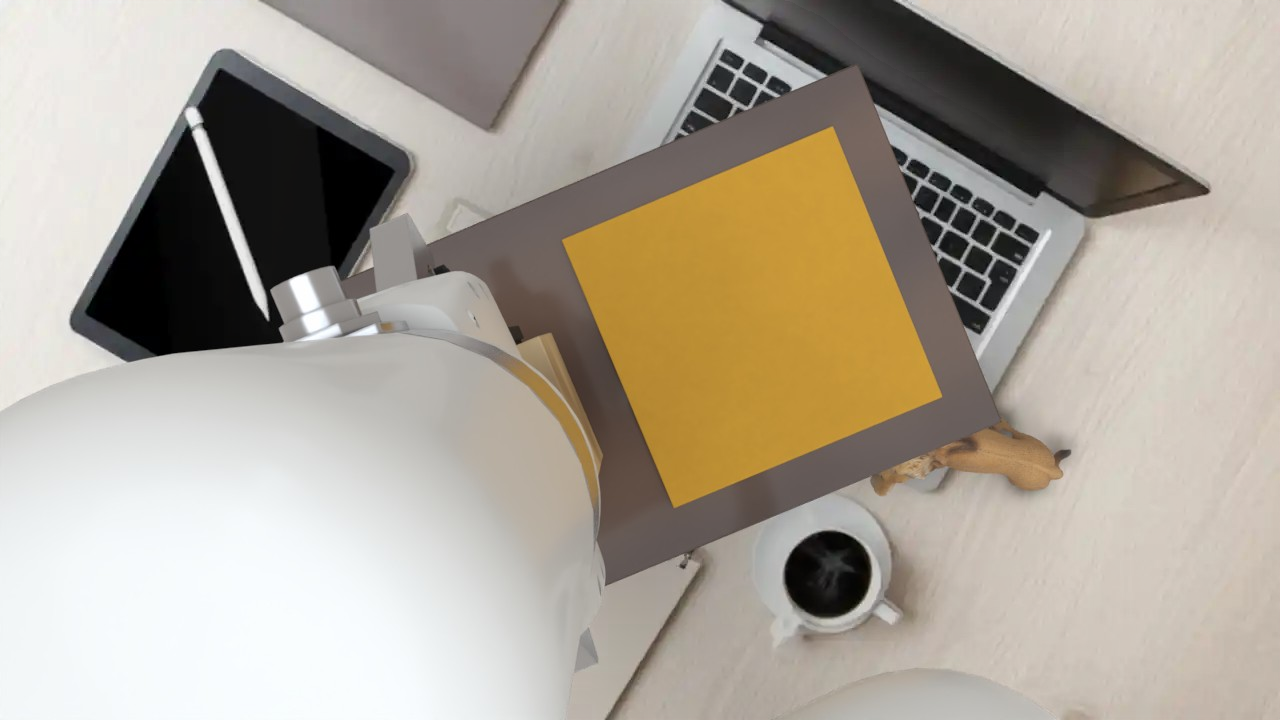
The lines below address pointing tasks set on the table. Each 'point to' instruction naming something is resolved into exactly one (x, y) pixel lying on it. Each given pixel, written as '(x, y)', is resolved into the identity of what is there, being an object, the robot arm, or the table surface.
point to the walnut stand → (555, 303)
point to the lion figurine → (984, 460)
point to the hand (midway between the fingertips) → (512, 422)
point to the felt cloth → (752, 317)
